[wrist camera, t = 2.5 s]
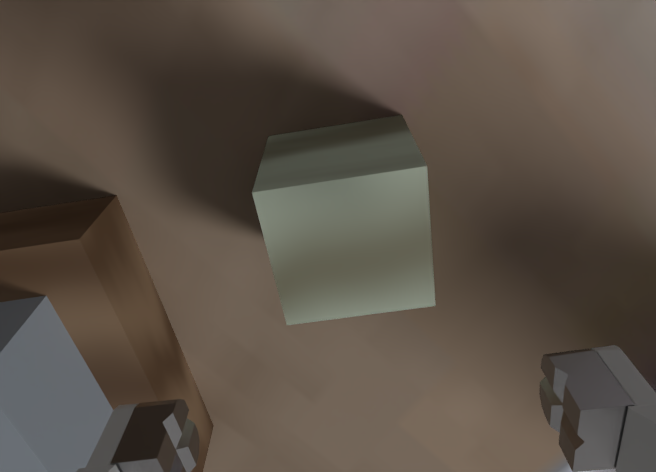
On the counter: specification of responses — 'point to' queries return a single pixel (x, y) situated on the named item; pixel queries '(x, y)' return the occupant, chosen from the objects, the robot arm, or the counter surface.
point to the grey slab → (45, 393)
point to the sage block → (346, 220)
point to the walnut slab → (101, 301)
